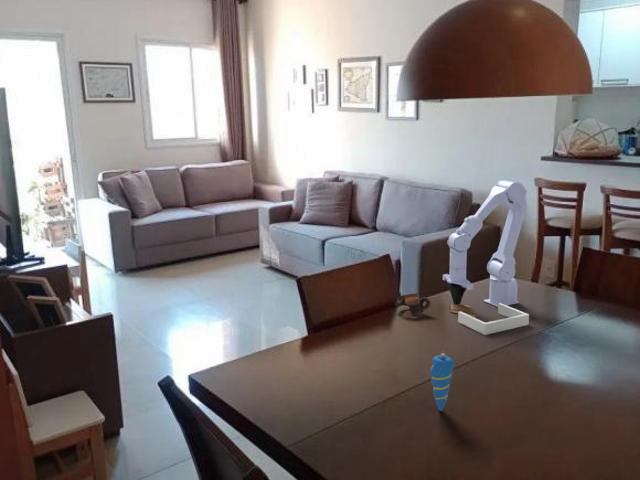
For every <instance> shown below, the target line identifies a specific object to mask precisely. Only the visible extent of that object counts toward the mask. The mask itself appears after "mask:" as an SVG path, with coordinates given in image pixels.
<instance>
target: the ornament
mask: <svg viewBox="0 0 640 480" xmlns="http://www.w3.org/2000/svg"><path fill="white" fill-rule="evenodd" d="M431 364H432V366H430V369H429V370H430V374H431V384H432V387H433V388H432V393H433V396H434V399H435V402H436V406H437V409H438V411H439V412H442V411H443V410H444V407H445V405H446V403H447V401H448V398H449V395H448V394H449V391H450V389H451V384H450V383H451V381H452V379H453V371H454V367H455V365H454V360H452V358H451V357H450V356H447V355H446V353H445V352H444V350H442V351H441V353H440V354H439V355H435V356H434V357H433V358H432V363H431Z"/></svg>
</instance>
